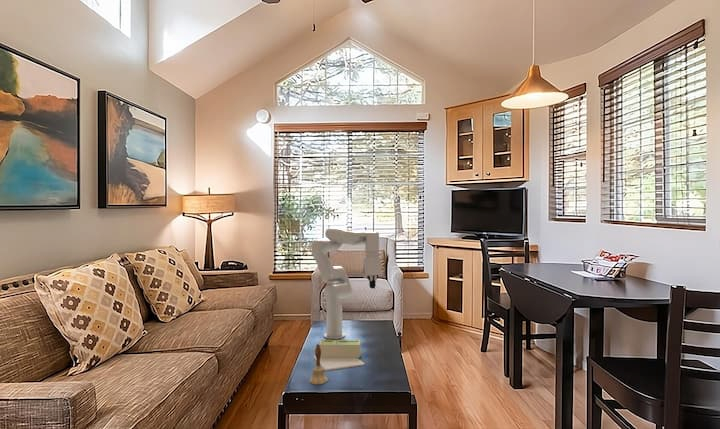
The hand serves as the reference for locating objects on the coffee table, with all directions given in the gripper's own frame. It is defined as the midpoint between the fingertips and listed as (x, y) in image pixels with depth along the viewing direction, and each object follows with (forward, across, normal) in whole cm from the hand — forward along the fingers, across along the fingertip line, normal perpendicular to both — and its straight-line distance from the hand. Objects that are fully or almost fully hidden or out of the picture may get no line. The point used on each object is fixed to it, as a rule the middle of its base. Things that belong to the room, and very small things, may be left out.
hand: (372, 287), depth 234 cm
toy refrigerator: (+29, +11, +10) cm, 32 cm away
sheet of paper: (+33, +24, +12) cm, 43 cm away
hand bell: (+33, +40, +32) cm, 61 cm away
